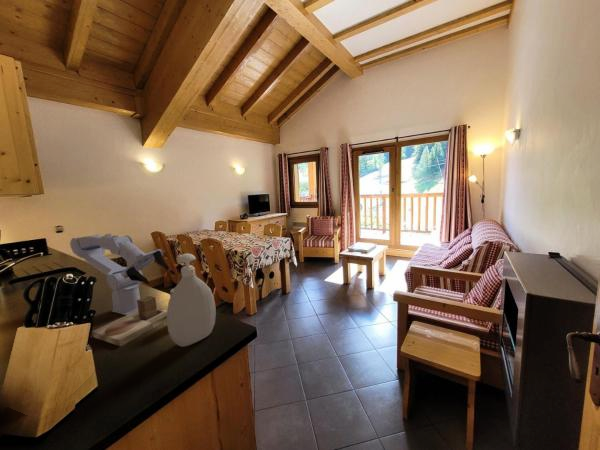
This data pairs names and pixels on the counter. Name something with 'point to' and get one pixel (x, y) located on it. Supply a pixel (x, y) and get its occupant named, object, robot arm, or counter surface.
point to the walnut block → (147, 307)
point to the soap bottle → (190, 307)
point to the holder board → (129, 327)
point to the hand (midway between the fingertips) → (157, 274)
